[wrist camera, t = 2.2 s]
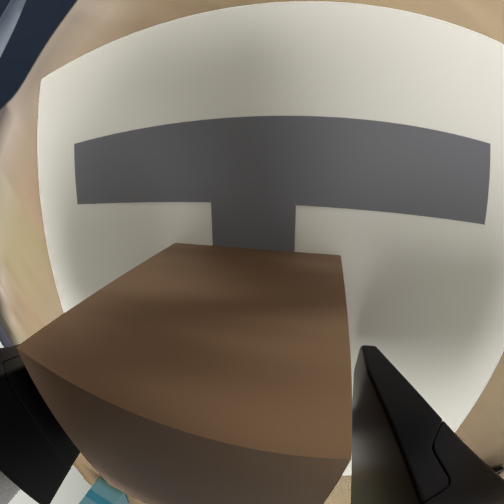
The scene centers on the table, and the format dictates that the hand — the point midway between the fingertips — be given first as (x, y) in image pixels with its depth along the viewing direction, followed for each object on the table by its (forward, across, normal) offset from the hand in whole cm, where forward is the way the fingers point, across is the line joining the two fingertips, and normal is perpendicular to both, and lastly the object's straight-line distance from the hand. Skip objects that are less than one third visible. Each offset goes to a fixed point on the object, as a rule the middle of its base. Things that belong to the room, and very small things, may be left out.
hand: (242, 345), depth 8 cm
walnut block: (+1, 0, 0) cm, 1 cm away
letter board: (+2, 0, 0) cm, 2 cm away
